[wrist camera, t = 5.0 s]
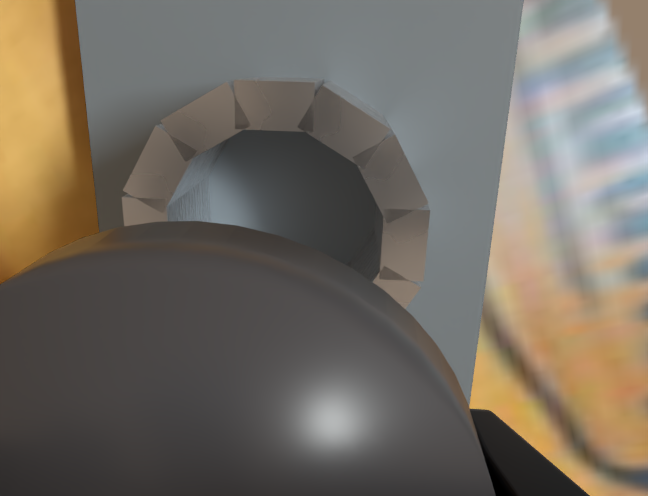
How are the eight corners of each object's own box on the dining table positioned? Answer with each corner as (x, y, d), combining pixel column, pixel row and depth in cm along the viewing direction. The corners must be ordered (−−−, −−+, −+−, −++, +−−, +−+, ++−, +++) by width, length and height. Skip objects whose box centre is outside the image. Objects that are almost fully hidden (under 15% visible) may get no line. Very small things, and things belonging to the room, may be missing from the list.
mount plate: (461, 387, 23) (468, 408, 21) (130, 368, 23) (115, 388, 22) (516, -44, 18) (530, -53, 16) (90, -53, 18) (68, -64, 17)
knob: (424, 501, 12) (464, 798, 7) (97, 477, 12) (-68, 745, 7) (461, 171, 9) (563, 291, 5) (53, 154, 10) (-236, 250, 5)
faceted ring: (401, 313, 20) (414, 380, 16) (182, 302, 20) (136, 364, 16) (420, 81, 18) (442, 86, 13) (169, 73, 18) (111, 75, 14)
